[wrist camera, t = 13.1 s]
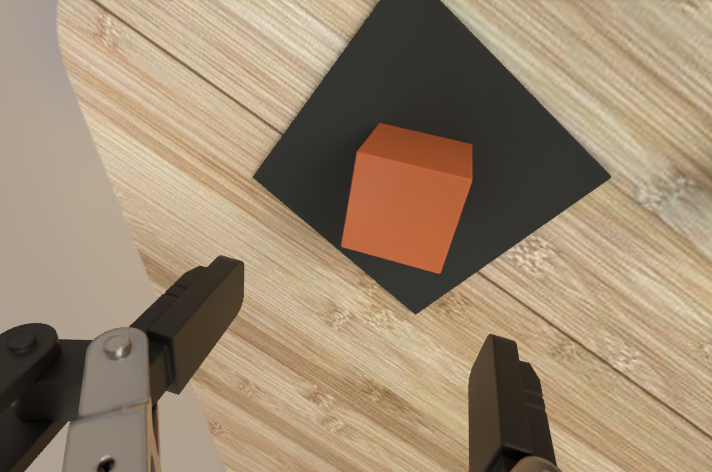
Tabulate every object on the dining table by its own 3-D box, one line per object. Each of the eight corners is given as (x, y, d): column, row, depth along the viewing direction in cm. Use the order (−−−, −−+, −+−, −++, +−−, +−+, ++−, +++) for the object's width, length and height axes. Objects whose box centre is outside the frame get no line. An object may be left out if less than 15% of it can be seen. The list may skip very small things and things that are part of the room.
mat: (255, 175, 25) (252, 177, 25) (406, -35, 18) (405, -35, 18) (416, 311, 27) (415, 315, 27) (609, 174, 20) (611, 177, 20)
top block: (363, 204, 24) (340, 247, 20) (379, 122, 21) (356, 151, 17) (445, 225, 23) (440, 274, 19) (472, 143, 21) (472, 179, 16)
